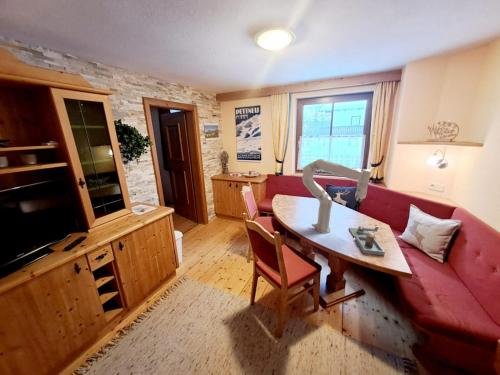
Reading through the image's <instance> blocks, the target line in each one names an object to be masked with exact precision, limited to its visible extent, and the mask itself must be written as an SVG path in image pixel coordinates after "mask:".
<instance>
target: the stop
mask: <svg viewBox="0 0 500 375" xmlns="http://www.w3.org/2000/svg"><path fill="white" fill-rule="evenodd" d="M374 238H375V236H374V235H372V234H370V235H366V241H365V246H366V247H369V248H372V247H373V242H374Z"/></svg>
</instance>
